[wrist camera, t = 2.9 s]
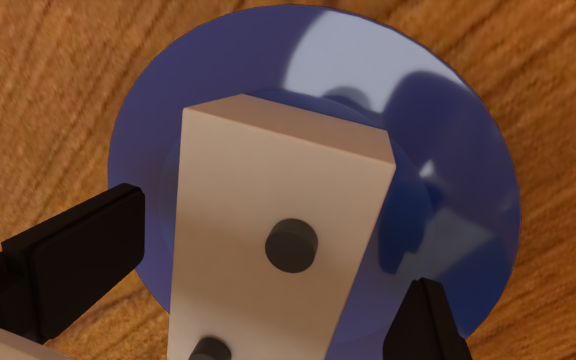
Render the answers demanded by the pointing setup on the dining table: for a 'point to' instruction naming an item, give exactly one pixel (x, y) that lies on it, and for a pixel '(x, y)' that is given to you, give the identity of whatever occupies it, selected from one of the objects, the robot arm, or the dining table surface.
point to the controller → (270, 227)
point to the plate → (356, 108)
